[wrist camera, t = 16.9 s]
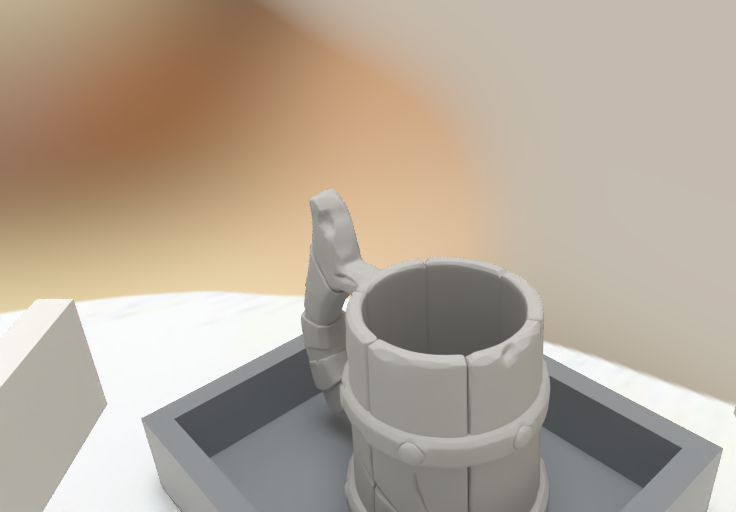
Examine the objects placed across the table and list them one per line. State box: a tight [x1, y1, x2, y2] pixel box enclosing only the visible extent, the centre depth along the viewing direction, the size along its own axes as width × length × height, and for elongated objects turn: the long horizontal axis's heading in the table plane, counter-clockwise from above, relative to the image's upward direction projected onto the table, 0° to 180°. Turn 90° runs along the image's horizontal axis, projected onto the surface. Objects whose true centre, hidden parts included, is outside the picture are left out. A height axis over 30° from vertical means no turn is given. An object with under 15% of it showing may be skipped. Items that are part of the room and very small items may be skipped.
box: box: [142, 312, 723, 512], centre depth 27 cm, size 17×15×4 cm
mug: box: [301, 188, 550, 512], centre depth 25 cm, size 8×12×12 cm, turn 41°
